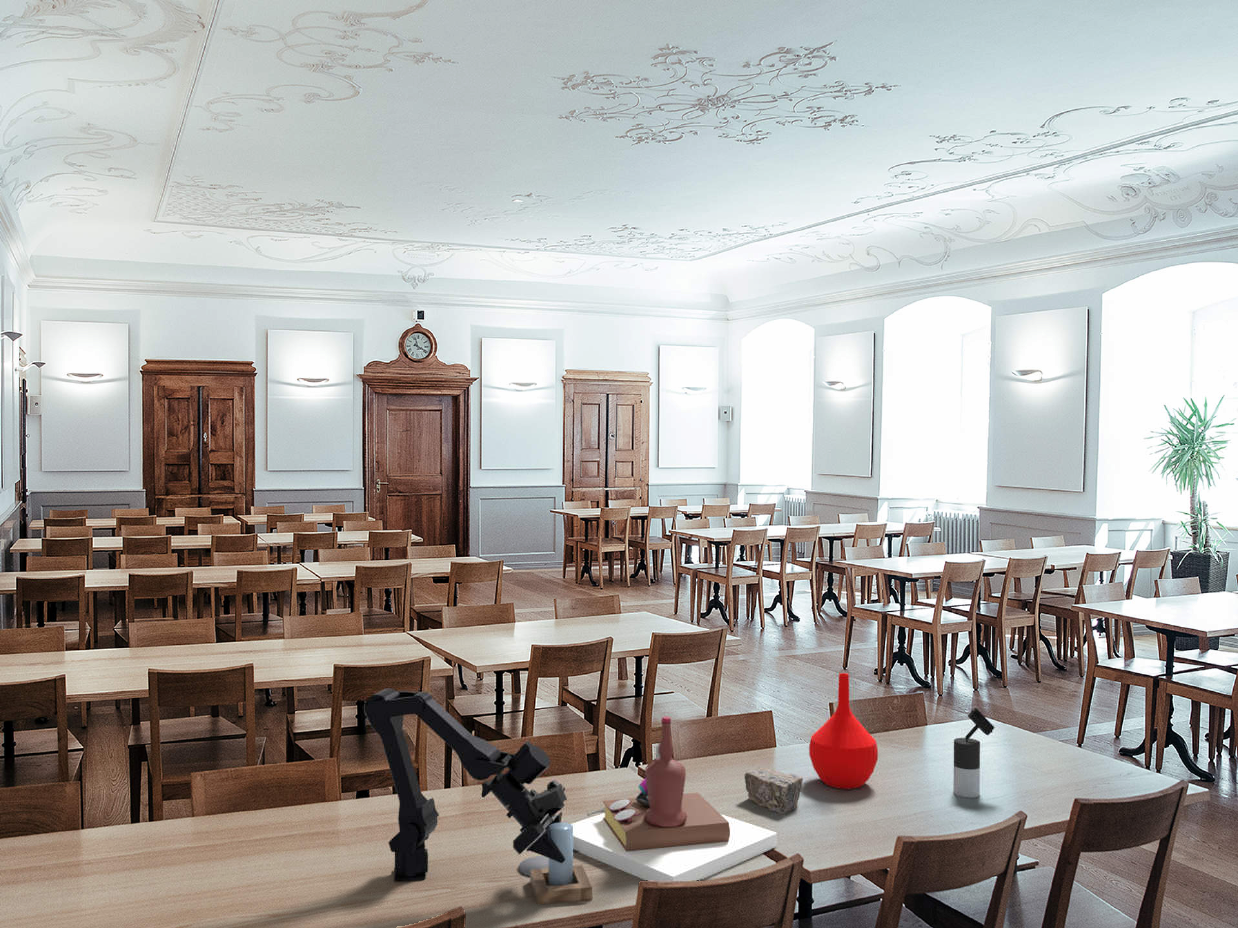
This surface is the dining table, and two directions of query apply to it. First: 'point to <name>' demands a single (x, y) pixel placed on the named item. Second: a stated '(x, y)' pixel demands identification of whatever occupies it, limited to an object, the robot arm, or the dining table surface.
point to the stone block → (773, 789)
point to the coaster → (533, 864)
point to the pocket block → (560, 887)
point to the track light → (969, 758)
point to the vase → (843, 746)
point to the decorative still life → (668, 828)
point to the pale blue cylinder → (564, 842)
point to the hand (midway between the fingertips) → (567, 856)
